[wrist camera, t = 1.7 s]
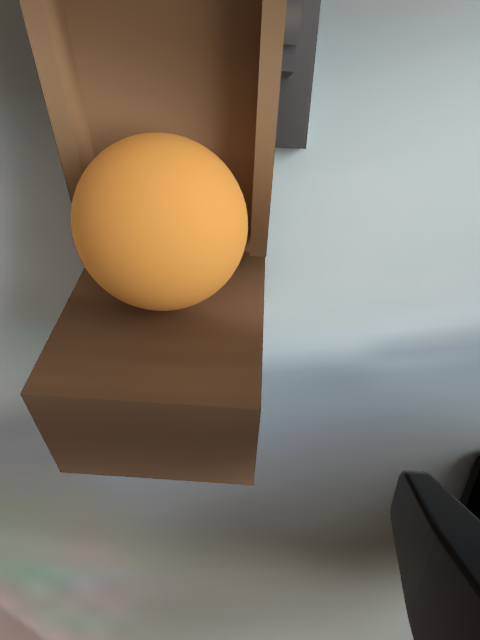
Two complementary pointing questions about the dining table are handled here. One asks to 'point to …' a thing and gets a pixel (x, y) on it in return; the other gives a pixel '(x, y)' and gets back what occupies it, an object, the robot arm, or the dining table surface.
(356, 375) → the dining table surface
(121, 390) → the brown wooden ramp
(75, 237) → the ball
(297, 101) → the fulcrum
